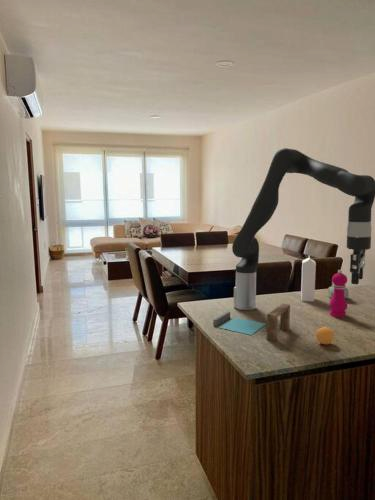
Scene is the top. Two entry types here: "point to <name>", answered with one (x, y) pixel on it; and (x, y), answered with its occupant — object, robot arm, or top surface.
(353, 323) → the top surface
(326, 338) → the ball
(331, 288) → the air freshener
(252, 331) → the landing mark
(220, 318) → the stopper
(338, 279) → the pepper mill
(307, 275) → the milk
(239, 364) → the top surface
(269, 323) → the bridge
